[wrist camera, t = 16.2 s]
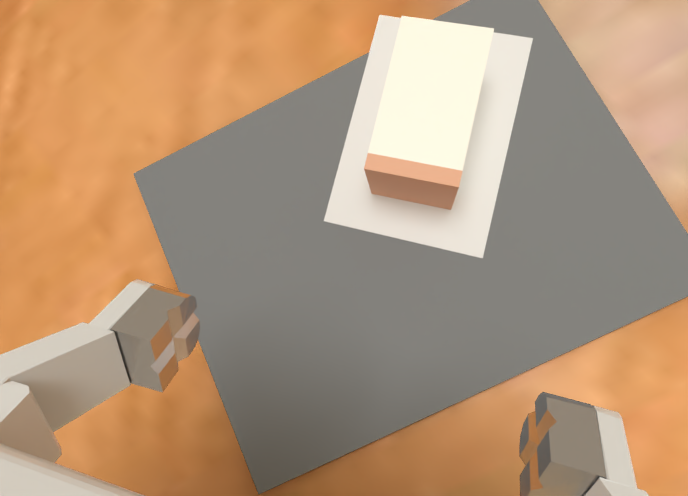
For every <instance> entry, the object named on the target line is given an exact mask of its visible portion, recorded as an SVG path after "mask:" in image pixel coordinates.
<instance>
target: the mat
mask: <svg viewBox="0 0 688 496" xmlns="http://www.w3.org/2000/svg"><path fill="white" fill-rule="evenodd" d="M433 20H436V21H443V22H451V23H458V24H465V25H472V26H480V27H487V28H494V32H493V36H492V41H491V45H490V50H489V54H488V59H487V63H486V68H485V72H484V77H483V81H482V86H481V90H480V95H479V99H478V104H477V108H476V113H475V117H474V122H473V126H472V131H471V135H470V140H469V144H468V149H467V153H466V158H465V162H464V167H463V171H462V176H461V180H460V185H459V189H458V191H457V194H456V197H455V200H454V203H453V205H452V208H451V210H449V209H444V208H439V207H434V206H429V205H424V204H419V203H414V202H409V201H405V200H400V199H395V198H390V197H385V196H380V195H375V194H372V193H371V190H370V187H369V184H368V180H367V177H366V174H365V171H364V166H365V162H366V158H367V154H368V150H369V146H370V142H371V138H372V134H373V130H374V126H375V122H376V118H377V114H378V110H379V106H380V102H381V98H382V94H383V90H384V86H385V82H386V78H387V74H388V70H389V66H390V61H391V57H392V53H393V49H394V45H395V41H396V37H397V33H398V29H399V25H400V21H401V18H397V17H391V16H384V15H379V19H378V22H377V26H376V30H375V34H374V37H373V41H372V45H371V48H370V52H369V53H367V54H365V55H363V56H361V57H359V58H357V59H355V60H353V61H351V62H349V63H347V64H345V65H344V66H342V67H340V68H338V69H336V70H334V71H332V72H330V73H328V74H326V75H324V76H322V77H320V78H318V79H316V80H314V81H312V82H311V83H309V84H307V85H305V86H303V87H301V88H299V89H297V90H295V91H293V92H291V93H289V94H287V95H285V96H283V97H281V98H279V99H278V100H276V101H274V102H272V103H270V104H268V105H266V106H264V107H262V108H260V109H258V110H256V111H254V112H252V113H250V114H248V115H246V116H244V117H243V118H241V119H239V120H237V121H235V122H233V123H231V124H229V125H227V126H225V127H223V128H221V129H219V130H217V131H215V132H213V133H211V134H210V135H208V136H206V137H204V138H202V139H200V140H198V141H196V142H194V143H192V144H190V145H188V146H186V147H184V148H182V149H180V150H178V151H177V152H175V153H173V154H171V155H169V156H167V157H165V158H163V159H161V160H159V161H157V162H155V163H153V164H151V165H149V166H147V167H145V168H144V169H142V170H140V171H138V172H136V173H134V176H135V179H136V182H137V184H138V187H139V189H140V192H141V194H142V197H143V200H144V202H145V205H146V207H147V210H148V212H149V215H150V217H151V220H152V223H153V225H154V228H155V230H156V233H157V235H158V238H159V240H160V243H161V246H162V248H163V251H164V253H165V256H166V258H167V261H168V264H169V266H170V269H171V271H172V274H173V276H174V279H175V281H176V284H177V287H178V289H179V292H182V293H185V294H188V295H192V296H194V297H195V298H196V303H197V308H196V309H195V311H194V312H193V313H194V314H195V315H196V317H197V318H198V319H199V322H200V333H199V337H198V340H199V343H200V346H201V348H202V351H203V353H204V356H205V358H206V361H207V363H208V366H209V369H210V371H211V374H212V376H213V379H214V381H215V384H216V387H217V389H218V392H219V394H220V397H221V399H222V402H223V404H224V407H225V410H226V412H227V415H228V417H229V420H230V422H231V425H232V428H233V430H234V433H235V435H236V438H237V440H238V443H239V445H240V448H241V451H242V453H243V456H244V458H245V461H246V463H247V466H248V469H249V471H250V474H251V476H252V479H253V481H254V484H255V486H256V489H257V492H258V494H261V493H263V492H265V491H267V490H270V489H272V488H274V487H276V486H278V485H280V484H283V483H285V482H287V481H289V480H291V479H293V478H296V477H298V476H300V475H302V474H304V473H306V472H309V471H311V470H313V469H315V468H317V467H319V466H322V465H324V464H326V463H328V462H330V461H332V460H335V459H337V458H339V457H341V456H343V455H345V454H348V453H350V452H352V451H354V450H356V449H358V448H361V447H363V446H365V445H367V444H369V443H371V442H374V441H376V440H378V439H380V438H382V437H384V436H387V435H389V434H391V433H393V432H395V431H397V430H400V429H402V428H404V427H406V426H408V425H410V424H413V423H415V422H417V421H419V420H421V419H423V418H426V417H428V416H430V415H432V414H434V413H436V412H439V411H441V410H443V409H445V408H447V407H449V406H452V405H454V404H456V403H458V402H460V401H462V400H464V399H467V398H469V397H471V396H473V395H475V394H477V393H480V392H482V391H484V390H486V389H488V388H490V387H493V386H495V385H497V384H499V383H501V382H503V381H506V380H508V379H510V378H512V377H514V376H516V375H519V374H521V373H523V372H525V371H527V370H529V369H532V368H534V367H536V366H538V365H540V364H542V363H545V362H547V361H549V360H551V359H553V358H555V357H558V356H560V355H562V354H564V353H566V352H568V351H571V350H573V349H575V348H577V347H579V346H581V345H584V344H586V343H588V342H590V341H592V340H594V339H597V338H599V337H601V336H603V335H605V334H607V333H610V332H612V331H614V330H616V329H618V328H620V327H623V326H625V325H627V324H629V323H631V322H633V321H636V320H638V319H640V318H642V317H644V316H646V315H649V314H651V313H653V312H655V311H657V310H659V309H662V308H664V307H666V306H668V305H670V304H672V303H675V302H677V301H679V300H681V299H683V298H685V297H688V234H687V232H686V230H685V229H684V227H683V226H682V224H681V223H680V221H679V219H678V218H677V216H676V215H675V213H674V212H673V210H672V209H671V207H670V205H669V204H668V202H667V201H666V199H665V198H664V196H663V195H662V193H661V191H660V190H659V188H658V187H657V185H656V184H655V182H654V180H653V179H652V177H651V176H650V174H649V173H648V171H647V170H646V168H645V166H644V165H643V163H642V162H641V160H640V159H639V157H638V156H637V154H636V152H635V151H634V149H633V148H632V146H631V145H630V143H629V142H628V140H627V138H626V137H625V135H624V134H623V132H622V131H621V129H620V127H619V126H618V124H617V123H616V121H615V120H614V118H613V117H612V115H611V113H610V112H609V110H608V109H607V107H606V106H605V104H604V103H603V101H602V99H601V98H600V96H599V95H598V93H597V92H596V90H595V88H594V87H593V85H592V84H591V82H590V81H589V79H588V78H587V76H586V74H585V73H584V71H583V70H582V68H581V67H580V65H579V64H578V62H577V60H576V59H575V57H574V56H573V54H572V53H571V51H570V50H569V48H568V46H567V45H566V43H565V42H564V40H563V39H562V37H561V35H560V34H559V32H558V31H557V29H556V28H555V26H554V25H553V23H552V21H551V20H550V18H549V17H548V15H547V14H546V12H545V11H544V9H543V7H542V6H541V4H540V3H539V1H538V0H470V1H468V2H466V3H464V4H462V5H460V6H458V7H456V8H454V9H452V10H450V11H448V12H446V13H445V14H443V15H441V16H439V17H437V18H435V19H433Z"/></svg>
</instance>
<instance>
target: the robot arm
mask: <svg viewBox="0 0 688 496" xmlns="http://www.w3.org/2000/svg"><path fill="white" fill-rule="evenodd" d="M196 308H197V303H196V298H195V297H194V296H192V295H188V294H185V293H182V292H179V291H175V290H172V289H169V288H166V287H162V286H159V285H156V284H152V283H148V282H145V281H142V280H138V279H137V280H135V281H132V282H130V283H129V284H128V285H127V286H126V287H125V288H124V289H123V290H122V291H121V292H120V293H119V294H118V295H117V296H116V297H115V298H114V299H113V300H112V301H111V302H110V303H109V304H108V305H107V306H106V307H105V308H104V309H103V310H102V311H101V312H100V313H99V314H98V315H97V316H96V317H95V318H94V319H93V320H92V321H91V322H90V323H89V324H88V323H84V322H83V323H80V324H78V325H75V326H73V327H70V328H67V329H65V330H62V331H60V332H57V333H55V334H52V335H50V336H47V337H44V338H42V339H39V340H37V341H34V342H32V343H29V344H27V345H24V346H21V347H19V348H16V349H14V350H11V351H9V352H6V353H4V354H1V355H0V496H145V495H142V494H139V493H137V492H134V491H131V490H128V489H126V488H123V487H120V486H117V485H115V484H112V483H109V482H106V481H103V480H101V479H98V478H95V477H92V476H90V475H87V474H84V473H81V472H79V471H76V470H73V469H70V468H67V467H65V466H62V465H59V464H56V463H55V462H56V460H57V459H58V458H59V457H60V455H61V447H60V445H59V443H58V441H57V439H56V437H55V435H54V433H53V432H54V431H56V430H58V429H59V428H61V427H62V426H64V425H66V424H67V423H69V422H71V421H72V420H74V419H76V418H77V417H79V416H81V415H82V414H84V413H86V412H87V411H89V410H90V409H92V408H94V407H95V406H97V405H99V404H100V403H102V402H104V401H105V400H107V399H109V398H110V397H112V396H113V395H115V394H117V393H118V392H120V391H122V390H123V389H125V388H127V387H128V386H130V385H131V384H130V383H132V384H135V385H139V386H142V387H146V388H149V389H153V390H156V391H160V392H163V391H164V390H165V389H166V387H167V386H168V384H169V383H170V382H171V380H172V379H173V377H174V376H175V375H176V373H177V372H178V361H180V360H182V359H184V358H186V357H188V356H189V355H190V353H191V352H192V350H193V349H194V347H195V345H196V343H197V340H198V337H199V333H200V322H199V319H198V318H197V317H196V315H195V314H194V313H193V312H194V311H195V309H196ZM520 458H521V459H522V461H523V462H524V464H525V465H526V466H525V468H524V470H523V471H522V473H521V475H520V496H649V495H648V494H647V492H646V491H644V490H641V489H638V488H637V484H636V479H635V475H634V470H633V466H632V461H631V456H630V452H629V447H628V443H627V438H626V434H625V429H624V425H623V420H622V417H621V415H620V414H619V413H618V412H615V411H611V410H608V409H604V408H600V407H597V406H591V405H590V404H587V403H583V402H579V401H575V400H572V399H568V398H564V397H560V396H557V395H553V394H549V393H545V392H542V393H541V394H540V395H539V396H538V398H537V400H536V401H535V412H532V413H530V414H528V416H527V418H526V420H525V422H524V424H523V428H522V432H521V436H520Z"/></svg>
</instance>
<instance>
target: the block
mask: <svg viewBox="0 0 688 496" xmlns="http://www.w3.org/2000/svg"><path fill="white" fill-rule="evenodd" d="M493 32H494V28H487V27H480V26H472V25H465V24H458V23H451V22H443V21H436V20H429V19H421V18H414V17H407V16H402V17H401V21H400V25H399V29H398V33H397V37H396V41H395V45H394V49H393V53H392V57H391V61H390V66H389V70H388V74H387V78H386V82H385V86H384V90H383V94H382V98H381V102H380V106H379V110H378V114H377V118H376V122H375V126H374V130H373V134H372V138H371V142H370V146H369V150H368V154H367V158H366V162H365V166H364V171H365V174H366V177H367V180H368V184H369V187H370V190H371V193H372V194H375V195H380V196H385V197H390V198H395V199H400V200H405V201H409V202H414V203H419V204H424V205H429V206H434V207H439V208H444V209H449V210H451V208H452V205H453V203H454V200H455V197H456V194H457V191H458V189H459V185H460V180H461V176H462V171H463V167H464V162H465V158H466V153H467V149H468V144H469V140H470V135H471V131H472V126H473V122H474V117H475V113H476V108H477V104H478V99H479V95H480V90H481V86H482V81H483V77H484V72H485V68H486V63H487V59H488V54H489V50H490V45H491V41H492V36H493Z"/></svg>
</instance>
